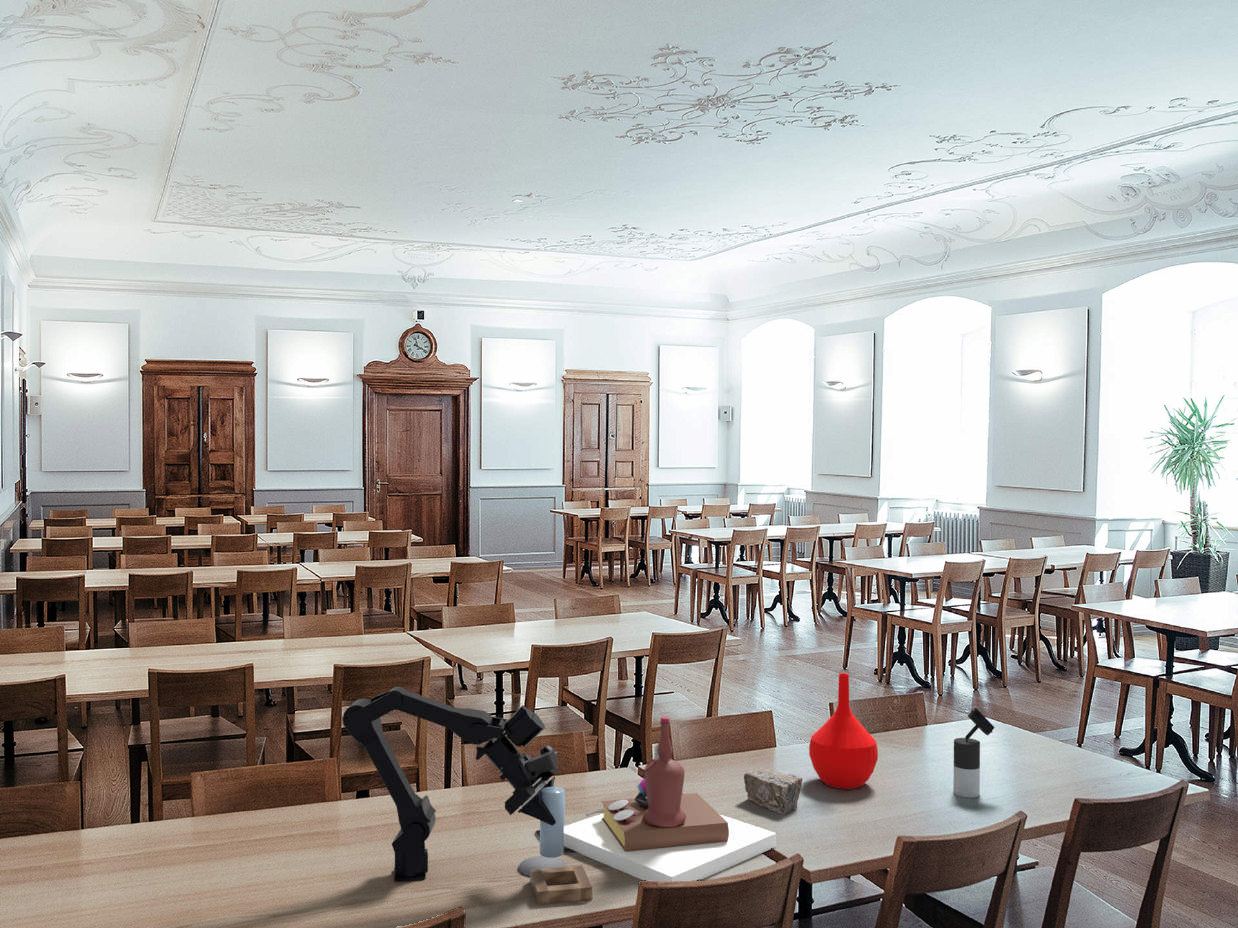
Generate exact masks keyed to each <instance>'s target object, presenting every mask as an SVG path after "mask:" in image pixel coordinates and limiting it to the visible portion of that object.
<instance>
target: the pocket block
mask: <svg viewBox="0 0 1238 928" xmlns="http://www.w3.org/2000/svg"><path fill="white" fill-rule="evenodd" d="M529 882H530V885H531V887H532V892H533V895H534V899H535V901H536V904H537V905H546V904H547V905H549V904H559V903H567V902H569V903H570V902H580V901H591V900H593V886H592V883H591V881H590V880H589V877H588V875H587V873H586V870H585V869H584V866H583V865H571V866H570V865H569V866H566V867H557V868H545V869H532V870H530V876H529Z"/></svg>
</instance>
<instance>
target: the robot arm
mask: <svg viewBox="0 0 1238 928" xmlns="http://www.w3.org/2000/svg"><path fill="white" fill-rule="evenodd" d="M395 710H396V711H399V712H402V713H405V714H408V715H410V716H414V717H416V718H419V719H422V720H425V721H427V722H431V723H433V724H435V725H439V726H441V727H444V728H446V729H448V730H450V731H451V732H453V734H455V735H456V736H457V737H459V738H460V739H463V740H464V741H466V742H467V743H469V744H471V745H475V746H476V748H475V749H476V754H475V755H476V756H475V760H476V761H479V760H481V759H482V758H484V757H485V756H486V757H487V758H488V759H489V761H490V762H491V763H492V765H493V766H494V767H495V769H497V771H499V773H500V774H501V775H500V776H499V779H500V780H501V781H502V782H503V781H504V780H506V781H507V782H508V783H509V785H510V786H511V787H512V788H513V789H514V790H513V791H512V794H511V796H510V797H509V798H507V800H506V801H504V809H505V811H506V812H507V813H508V814H509V815H510V816H512V815H514V813H516V811H517V813H518V814H520V813H521V814H524V815H527V816H529V817H532V818H534V819H537V820H538V821H540V820H541V821H543V822H545V823H547V824H550V825H552V826H553V825H554V824H555V823H556V821H555V819H554V817H553V816H552V814H551V813H550V811H549V810H548V808H547V807H546V805H545V804H544V802H543V801H542V790H541V789H543V788H546V787H555V786H554V785H555V780H556V777H555V776H554V775H555V774H556V773H557V772H558V771H559V770H558V768H557V767H556V766H557V765H559V764H560V762H559V759H558V757H557V756H559V752H558V751H556V749H555V748H553V747H552V746H550V745H549V744H547V745H545V746H543V747H542V748H540V750H539V751H540V752H539V753H540V754H537V755H536V756H533V757H531V756H530V754H528V753H525V754H522V753H521V751H519V749H518V748H517V747H519V748H521V747H522V746H523V747H524V748H525V747H527V746H528V745H530V744H531V742H532V741H533V740H534V739H535V738H537V737H538V736H539V735H540V733H542V732H543V731H544V730H545V729H546V725H545V724H544V722H543V721H542V719H541V718H540V716H539V715H538V714H537V713H535V712H533V711H532V710H530V708H527V707H526V706H525V705H523V704H522V705H520V707H519V708H518V709H517V710H516V712H515V713H514V714H513V715H511V716H510V717H509V718H508V719H507V718H503V717H497V716H492V715H491V714H490V713H489V712H488V711H485V710H481V709H480V710H479V709H474V708H467V707H465V708H461V707H460V708H459V707H454V706H451V705H450V704H449V705H448V704H446V703H442V702H441V701H438V700H434V699H433V698H429V697H427V696H426V697H425V695H424V696H423V695H420V694H418V693H415V692H412V691H409V690H407V689H406V688H403V687H402V686H395V687H393V688H391V689H390V690H388V691H385V692H383V693H381V694H378V695H376V696H373V697H371V698H359V699H357V700H355V701H353V703H352V704H351V705H349V707H348V708H346V710H345V711H344V712H343V716H342V724H343V727H344V728H345V730H346V731H347V732H348V733H349V734H350V735H351V737H352V738H353V739H354V740H355V741H356V742H357V743H359V744H361V746H363V748H364V749H365V750H366V752H367V755H368V756H369V758H370V760H371V761H372V764H373V765H374V767H375V769H376V771H377V773H378V775H379V776H380V778H381V780H382V782H383V784H384V785H385V788H386V790H387V791H388V794H389V795H390V798H391V799H392V800H393V802H394V805H395V807H396V813H397V818H398V823H399V826H400V830H398V832H397V834H396V836H395V838H394V840H392V843H391V846H392V849H393V851H394V867H393V881H394V882H401V881H402V882H403V881H414V880H425V879H426V878H427V877H426V876H427V873H428V872H429V851H428V849H427V848H426V841H427V839H428V838H429V837H430V835H431V832H432V831H433V829H434V827H435V824H436V820H437V819H436V812H437V810H436V809H435V807H434V806H433V805H432V804H431V801H430V798H429V796H428V795H425V796H423V797H420V795H418V794H417V793H415V791H414V789H413V787H412V785H411V784H410V782H409V780H408V778H407V777H406V774H405V773H404V772H405V771H403V770H404V769H402V767H401V765H400V764H399V762H398V760H397V757H396V756H395V754H394V752H393V751H392V749H391V747H390V744H389V743H388V741H387V739H386V737H385V736H384V731H383V725H382V719H381V717H383V716H385V715H387V714H388V713H390V712H392V711H395ZM486 741H487V742H486ZM485 742H486V743H485ZM481 744H483V745H481ZM553 776H554V777H553ZM550 778H551V779H550Z"/></svg>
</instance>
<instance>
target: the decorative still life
mask: <svg viewBox="0 0 1238 928" xmlns="http://www.w3.org/2000/svg"><path fill="white" fill-rule="evenodd" d="M670 723H671V722H670V717H668V716H662V717H660V722H659V724H660V737H659V738H660V739H659V741H658V743H657V744H655V747H654V758H653V759H651V760H650V761H649V762H648V763H647V764H646V766H644V768H643V771H644V778H643V779H642V780H641V781H640V782H639V783H638V785H637V786H636V787H637V789H638V790H639V792H638V793H637V795H636V797H634V798H633V797H631V798H621V799H610V800H609V799H607V800H601V803H602V805H603V808H600V809H597V810H593V811H590V812H589V811H588V812H586V813H585V814H586V815H585V816H586V817H587V818H585V819H581V820H579V821H576V822H573V823H571V824H570V823H569V824H568V825H564V846H565V847H567V848H569V849H572V850H574V851H576V852H578V853H577V854H580V855H583V856H585V857H588V858H590V859H592V860H595V861H597V862H600V863H602V864H604V865H607V866H609V867H612V868H614V869H616V870H619V871H621V872H622V873H625V874H628V875H630V876H633V877H635V878H637V879H640V880H642V881H644V880H653V881H672V882H673V881H692V880H697V879H701V880H703V879H705V878H707V877H711V876H712V875H715V874H717V873H720V872H722V871H724V870H726V869H729V868H731V867H733V866H735V865H737V864H738V865H739V864H740V863H742V862H744V861H747V860H749V859H751V858H754V857H757V856H758V855H760V854H762V853H763V854H764V853H765V852H767V851H769V850H772V849H774V848H777V833H776V832H773V831H771V830H768V829H766V828H765V829H764V828H762V827H758V826H755V825H753V824H751V823H747V822H744V821H741V820H738V819H735V818H732V817H729V816H725V815H722V814H721V813H720V814H719V813H718V811H716V809H714V808H713V807H712V806H711V805H710V804H709V803H708V802H707V801H706V800H705V799H704V798H703V797H702V796H700V794H699V793H697V792H692V793H691V792H690V793H683V790H684V781H685V768H684V767H683V766H682V764H681V763H679V762H677V761H676V760H674V759H672V757H671V755H672V753H673V747H672V743H671V739H670ZM595 814H598V815H595ZM592 815H593V816H592ZM590 816H591V817H590ZM771 848H772V849H771Z"/></svg>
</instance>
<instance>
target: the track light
mask: <svg viewBox="0 0 1238 928" xmlns="http://www.w3.org/2000/svg"><path fill="white" fill-rule="evenodd" d="M967 717H968V718H969V720H971V722H972V723H973V724H974V726H973V727H972V729H970V731H969V732H968V733H967V734H966V735H965V736H964V737H957V738H956V737H955V738H954V739H953V794H955V796H958V797H963V798H977V797H980V792H981V791H980V790H981V789H980V787H981V786H980V782H981V781H980V780H981V775H980V774H981V767H980V766H981V742H980V741H979V740H978V739H975V738H972V736H973V734H975V733H976V732H977V730H978V729H979V730H980V731H981V732H982V733H983V734H984V735H986V736H990V734H991V733H993V730H994V729H995V728H996V727H995V726H994V725H993V724H992V723H991V722H990V721H989V719H988V718H986V716H985V715H983V714H982V712H980V710H979V709H978V708H977V707H974V708H973V709H972V710H971V711H970V712H969V714H968V715H967Z"/></svg>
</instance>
